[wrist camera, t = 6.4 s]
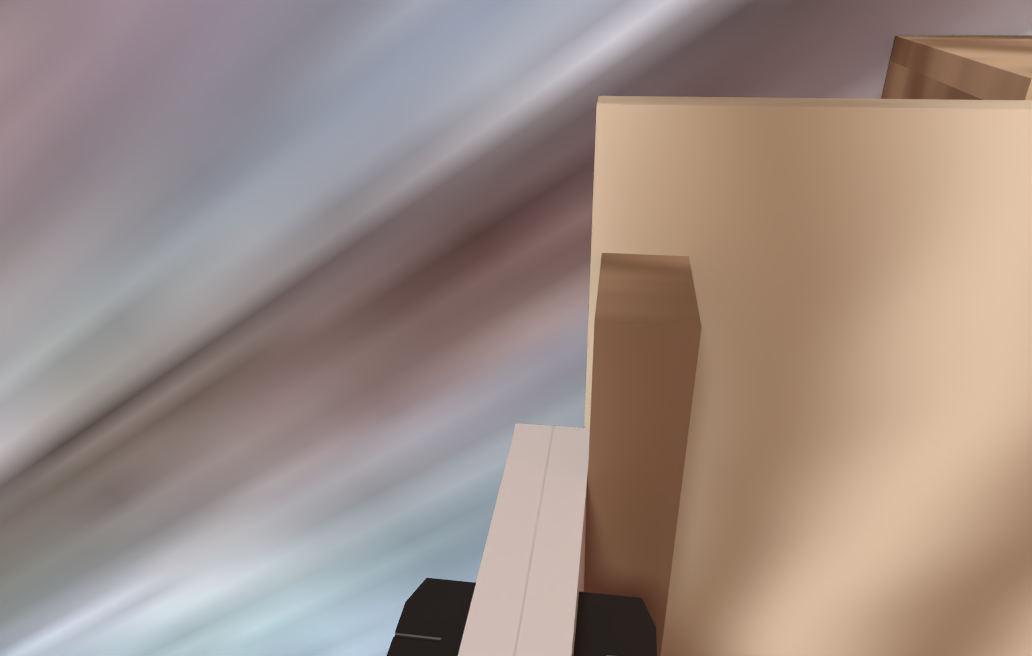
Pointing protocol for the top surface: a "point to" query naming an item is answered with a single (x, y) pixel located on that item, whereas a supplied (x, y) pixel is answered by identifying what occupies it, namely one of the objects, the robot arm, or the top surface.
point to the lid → (813, 374)
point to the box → (960, 68)
